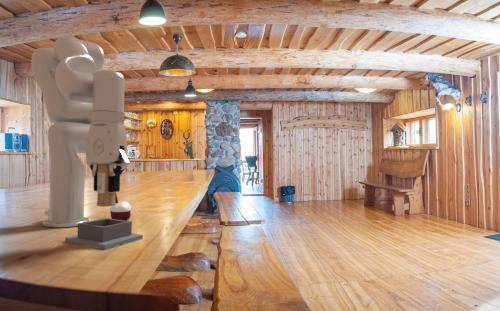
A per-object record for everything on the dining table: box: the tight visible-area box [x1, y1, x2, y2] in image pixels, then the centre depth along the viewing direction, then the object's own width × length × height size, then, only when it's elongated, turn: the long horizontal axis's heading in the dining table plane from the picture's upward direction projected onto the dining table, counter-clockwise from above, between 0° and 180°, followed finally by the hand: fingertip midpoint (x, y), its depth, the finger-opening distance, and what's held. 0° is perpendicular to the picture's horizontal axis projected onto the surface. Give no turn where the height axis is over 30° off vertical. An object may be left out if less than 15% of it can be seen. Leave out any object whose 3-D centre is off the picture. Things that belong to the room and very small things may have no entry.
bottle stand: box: [64, 217, 144, 250], centre depth 86 cm, size 14×12×4 cm
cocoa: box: [110, 192, 132, 221], centre depth 111 cm, size 10×6×12 cm, turn 37°
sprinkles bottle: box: [96, 161, 116, 208], centre depth 86 cm, size 5×5×14 cm
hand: (106, 190), depth 86 cm, fingers closed on sprinkles bottle, 4 cm apart
